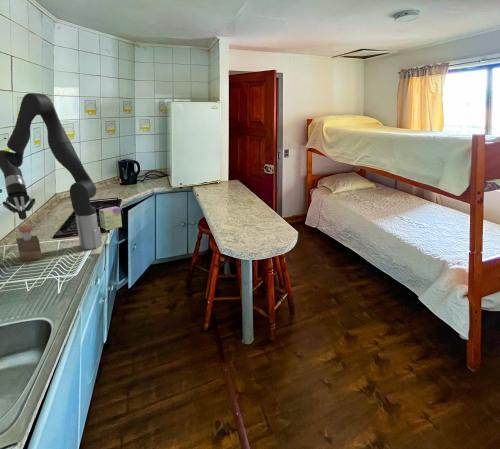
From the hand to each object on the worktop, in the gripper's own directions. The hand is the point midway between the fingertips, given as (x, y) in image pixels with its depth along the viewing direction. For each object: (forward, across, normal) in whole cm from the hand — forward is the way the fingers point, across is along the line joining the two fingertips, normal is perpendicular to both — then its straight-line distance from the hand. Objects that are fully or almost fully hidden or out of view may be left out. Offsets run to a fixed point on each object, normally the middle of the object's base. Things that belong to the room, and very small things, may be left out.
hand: (23, 218), depth 150 cm
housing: (+13, 0, +13) cm, 19 cm away
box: (-4, +43, +31) cm, 53 cm away
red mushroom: (+9, 0, +9) cm, 13 cm away
